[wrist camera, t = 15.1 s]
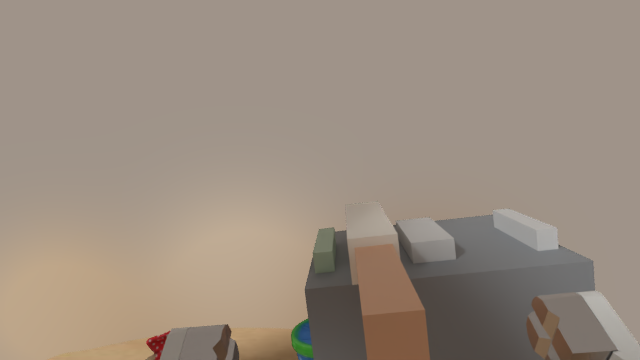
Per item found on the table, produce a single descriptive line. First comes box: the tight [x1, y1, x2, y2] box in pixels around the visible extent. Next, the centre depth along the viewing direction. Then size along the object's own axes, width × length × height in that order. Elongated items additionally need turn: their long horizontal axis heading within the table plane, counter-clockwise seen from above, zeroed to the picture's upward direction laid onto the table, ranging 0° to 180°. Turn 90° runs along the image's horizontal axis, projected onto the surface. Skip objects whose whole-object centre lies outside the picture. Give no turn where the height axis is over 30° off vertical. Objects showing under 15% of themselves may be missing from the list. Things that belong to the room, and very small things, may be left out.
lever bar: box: [345, 201, 430, 360], centre depth 27 cm, size 24×3×3 cm, turn 177°
